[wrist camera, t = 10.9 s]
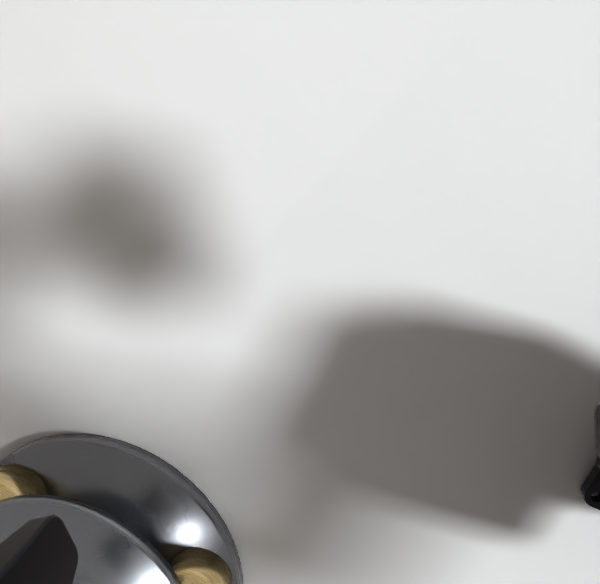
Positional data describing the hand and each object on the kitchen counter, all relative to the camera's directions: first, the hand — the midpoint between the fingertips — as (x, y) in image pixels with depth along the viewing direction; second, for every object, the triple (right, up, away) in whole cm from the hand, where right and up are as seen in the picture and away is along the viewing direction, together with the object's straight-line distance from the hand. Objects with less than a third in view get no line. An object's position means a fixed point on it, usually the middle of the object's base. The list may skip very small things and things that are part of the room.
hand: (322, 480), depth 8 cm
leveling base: (-11, -12, +18) cm, 24 cm away
